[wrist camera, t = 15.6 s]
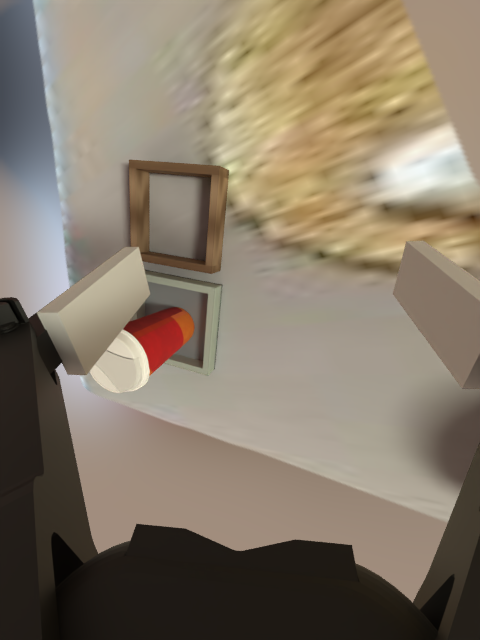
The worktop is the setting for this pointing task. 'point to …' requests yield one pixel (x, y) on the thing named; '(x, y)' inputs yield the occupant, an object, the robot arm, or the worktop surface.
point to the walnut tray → (141, 212)
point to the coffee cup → (142, 349)
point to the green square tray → (202, 308)
